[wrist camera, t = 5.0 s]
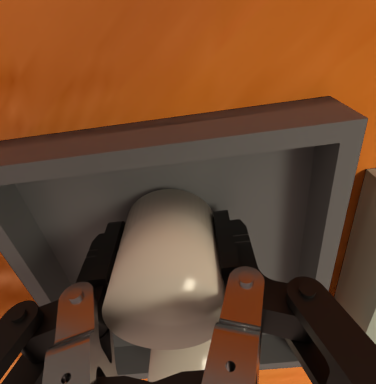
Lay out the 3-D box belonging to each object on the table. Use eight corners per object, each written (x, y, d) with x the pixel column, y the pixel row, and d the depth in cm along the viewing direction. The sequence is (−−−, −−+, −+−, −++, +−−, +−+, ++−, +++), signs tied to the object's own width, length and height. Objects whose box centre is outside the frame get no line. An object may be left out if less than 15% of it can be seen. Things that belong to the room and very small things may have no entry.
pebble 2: (149, 285, 17) (137, 373, 13) (220, 278, 17) (232, 365, 13) (162, 325, 20) (156, 410, 16) (225, 320, 19) (236, 405, 15)
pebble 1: (116, 194, 13) (83, 282, 9) (211, 183, 13) (224, 269, 9) (138, 260, 15) (120, 353, 11) (218, 252, 15) (231, 345, 11)
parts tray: (-10, 142, 13) (-55, 173, 10) (329, 95, 12) (368, 118, 10) (103, 341, 23) (92, 382, 20) (296, 324, 22) (311, 365, 19)
